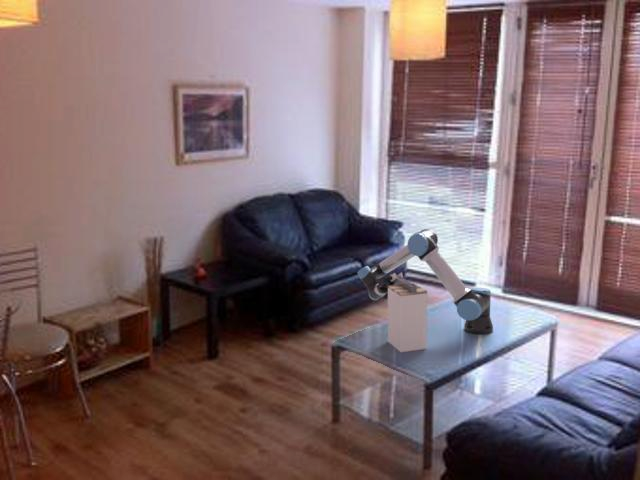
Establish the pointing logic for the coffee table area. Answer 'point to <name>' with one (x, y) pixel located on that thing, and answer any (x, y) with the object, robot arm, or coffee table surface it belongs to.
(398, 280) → the metal bar
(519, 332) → the coffee table surface
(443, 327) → the coffee table surface
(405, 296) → the pedestal
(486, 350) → the coffee table surface
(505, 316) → the coffee table surface
